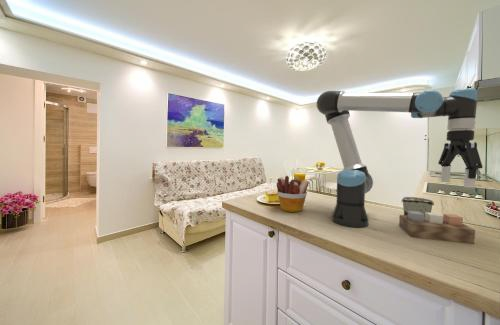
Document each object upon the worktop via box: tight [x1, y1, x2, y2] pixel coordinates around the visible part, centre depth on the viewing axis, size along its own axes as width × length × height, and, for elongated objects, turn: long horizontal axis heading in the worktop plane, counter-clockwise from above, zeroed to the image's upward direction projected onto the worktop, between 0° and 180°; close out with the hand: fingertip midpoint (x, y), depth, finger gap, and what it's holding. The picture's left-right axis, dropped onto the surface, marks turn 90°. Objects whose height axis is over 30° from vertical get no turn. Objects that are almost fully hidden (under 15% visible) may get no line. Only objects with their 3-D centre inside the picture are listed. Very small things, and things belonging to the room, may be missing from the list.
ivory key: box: [425, 212, 443, 224], centre depth 82 cm, size 4×4×4 cm
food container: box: [401, 196, 435, 217], centre depth 101 cm, size 12×6×10 cm, turn 65°
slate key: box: [408, 211, 424, 222], centre depth 84 cm, size 4×4×4 cm
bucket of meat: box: [276, 175, 310, 213], centre depth 115 cm, size 20×16×20 cm
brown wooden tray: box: [398, 214, 476, 244], centre depth 82 cm, size 19×12×5 cm, turn 72°
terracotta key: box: [442, 213, 464, 226], centre depth 80 cm, size 4×4×4 cm
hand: (456, 184), depth 82 cm, fingers open, 13 cm apart
